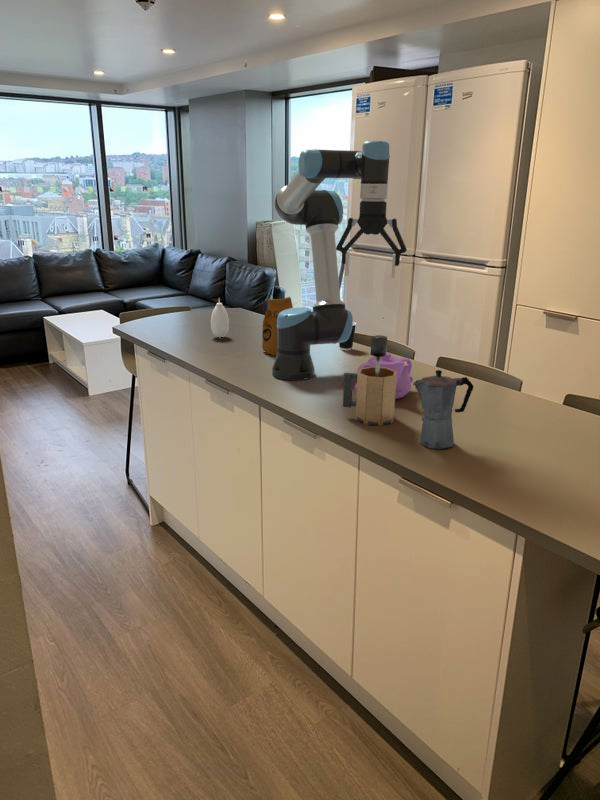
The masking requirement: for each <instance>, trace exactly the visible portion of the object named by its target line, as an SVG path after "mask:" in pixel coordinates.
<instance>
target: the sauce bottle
mask: <svg viewBox="0 0 600 800" xmlns="http://www.w3.org/2000/svg"><path fill="white" fill-rule="evenodd" d="M220 301H221V300H220V297H218V302H217V303H216V305H215V307H214V308H213V310H212V313H211V317H210V329H211V332H212V334H213V335H214V336H215V337H216V336H217V337H216V338H218V337H223V338H224V337H225V336H227V334H228V332H229V330H230V329H229V328H230V319H229V315H228V312H227V309H226V308H225V306H224V305H223V302H220Z"/></svg>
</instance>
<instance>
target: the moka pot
mask: <svg viewBox="0 0 600 800" xmlns="http://www.w3.org/2000/svg"><path fill="white" fill-rule="evenodd" d="M442 372H443V371H442V370H441V369H438V370H435V375H431V376H426V377H425V376H424V377H422V378H420V379H418V380H415V382H412V386H414V387H415V389H416V392H417V393H418V395H419V398H420V401H421V409H422V410H423V411H422V412H423V416H422V417H421V421H422V425H421V433H420V439H419V443H420V444H421V446H423V447H425V448H427V449H434V450H441V449H443V450H444V449H449V448H450V447H453V446H454V444H455V441H454V440H455V439H454V429H453V419H452V418H453V417H452V415H453V408H454V402H455V397H456V391H457V387H459V386H463V385H467V387H468V388H467V390H466V393H465V396H464V398H463V402H462V405H461V406H460V407H459V408H455V409H454V413H463V412H465V409H466V407H467V404H468V403H469V400H470V397H471V394H472V392H473V390H474V384H473V383H472V382H471V381H470V379H469V378H468V377H467V376H464V377H461V378H460V377H453V378H452V377H450V376H447V375H446V376H444V375H443V376H442Z"/></svg>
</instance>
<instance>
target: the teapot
mask: <svg viewBox="0 0 600 800" xmlns="http://www.w3.org/2000/svg"><path fill="white" fill-rule="evenodd" d="M404 362H406V364H405V363H404ZM367 367H376V356H372V357H370V358H369V359H368V360H367V361H366V362H365V363H362V364H360V366H358V368H357V372H358V371H359V369H361V368H367ZM380 367H384V368H389V369H392V370H395V371H397V381H396V396H395V400H398V399H402V398H404V397H405V396H406V395H407V394H408V393H409V392H410V391H411V389H412V384H413V380H414V378H413V376H412V375H410V374H411V371H412V368H413V363H412V361H411V360H410V358H407V357H400V358H399V357H396V356H392V353H391V352H387V351H386V356H382V357H380ZM354 390H355V391H356V392H357V382H356V383H355V385H354Z"/></svg>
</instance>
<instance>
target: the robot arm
mask: <svg viewBox="0 0 600 800" xmlns="http://www.w3.org/2000/svg"><path fill="white" fill-rule="evenodd" d="M390 155H391V154H390V143H389V142H387V141H385V140H369V141H368V140H367V141H364V142H363V143H362V148H361V150H341V149H340V150H339V149H337V150H335V149H334V150H333V149H316V148H312V149H303V150H301V152H300V154H299V157H298V164H297V165H298V171H297V172H296V173H295V175H294V176H293V177H292V179H291V180H290V181H289V183H288V184H287V185H285V186H283V187H281V188H280V190H278V192H277V194H276V196H275V198H274V208H275V210H276V213H277V215H278V216H279V217H280V218H281V219H282V220H283V221H284V222H286V223H289V224H291V225H294V226H295V225H297V226H300V225H301V226H303V225H304V226H305V232H306V233H307V234H308V235H310V244H311V253H312V254H311V255H312V256H311V257H312V265H313V276H314V277H313V278H314V286H315V287H314V288H315V301H316V302H315V303H314V305H313V306H312V310H311V309H310V308H309V307H305V306H303V307H299V306H298V307H297V306H296V307H293V308H290V309H286V310H283V311H281V312H280V313H279V314H278V317H277V355H275V359H274V362H273V365H272V369H271V370H272V372H271V373H272V376H273V377H274V378H277V379H281V380H286V381H302V380H307V379H311V378H313V377H314V376H315V371H316V370H315V365H314V362H313V359H312V356H311V346H315V345H316V346H317V345H327V344H328V345H329V344H334V345H336V344H339V343H342V342H345V341H347V340H348V338H349V337H350V334H351V332H352V326H353V322H354V321H353V319H354V318H353V314H352V311H351V310H349V309H347V308H346V303H344V301H342V300H341V291H340V279H339V266H338V257H337V251H339V252H341V264H342V265H345V267H344V270H345V271H344V276H345V277H348V276H349V275H350V254H351V253H350V252H348V251H349V250H350V249H351V247H352V246H353V245H354V244H355V243H356V242H357V241H358V240H359V238H360V237H361V236H362V235H363V234H365V235H366V236H367V235H374V236H377V235H379V234H380V236H381V237H382V238H383V239H384V240H385V242H386V243H387V244H388V246H389V247H390V248H391V250H392V251H393V252H394V253H393V254H392V259H391V260H392V263H391V278H392V279H395V275H396V267H399V266H400V261H401V260H400V259H401V258H400V257H401V254H404V253H406V252H407V247H406V244H405V242H404V240H403V238H402V234H401V232H400V231H399V228H398V221H397V218H393V219H392V218H390V219H388V218H387V204H388V203H387V201H385V200H387V199H388V190H389V189H388V187H389V186H388V181H389V170H390V169H389V167H390V165H389V164H390V157H391V156H390ZM325 179H354V180H360V194H359V195H360V196H359V198H360V199H361V201H360V202H359V215H358V218H354V217H349V218H348V219H347V226H346V228H345V230H344V231H343V234H342V235H341V238H340V239H339V241H338V242H337V243H336V235H335V233H336V232H337V231H338V229H339V225H341V223H342V222H343V218H344V216H343V215H344V205H343V202H342V199H341V197H340V195H339V194H338V192H336V191H335V190H327V189H322V190H321V189H318V190H317V188H318V187H320V185H321V183H323V182H324V180H325ZM356 224H357V225H358V226H359V228H360V229H359V230H357V232H356V233H355V235H354V236H353V237H352V238H351V239H349V241H348V243H347V244H346V245H345V246H344V244H345V242H346V240H347V238H348V236H349V234H350V233H351V230H352V228H353V227H354V226H355V225H356ZM387 225H389V227H390V228H392V232H393V233H394V237H396V241H397V243H398V245H399V247H400V249H399V247H398V246H397V244H396V243H395V242H394V241H393V239H392V238H391V236H389V234H388V233H387V231H386V230H385V227H386V226H387ZM336 244H337V245H336Z"/></svg>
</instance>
